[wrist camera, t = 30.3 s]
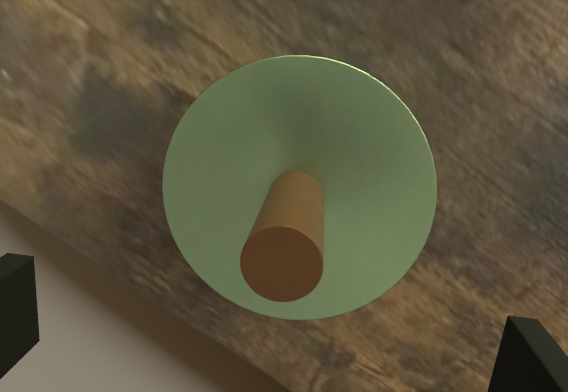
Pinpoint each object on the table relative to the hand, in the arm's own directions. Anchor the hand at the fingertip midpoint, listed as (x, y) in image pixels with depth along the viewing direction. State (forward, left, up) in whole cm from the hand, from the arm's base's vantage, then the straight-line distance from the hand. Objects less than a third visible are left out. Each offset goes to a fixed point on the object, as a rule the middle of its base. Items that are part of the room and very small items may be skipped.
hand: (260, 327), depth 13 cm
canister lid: (0, 0, -14) cm, 14 cm away
